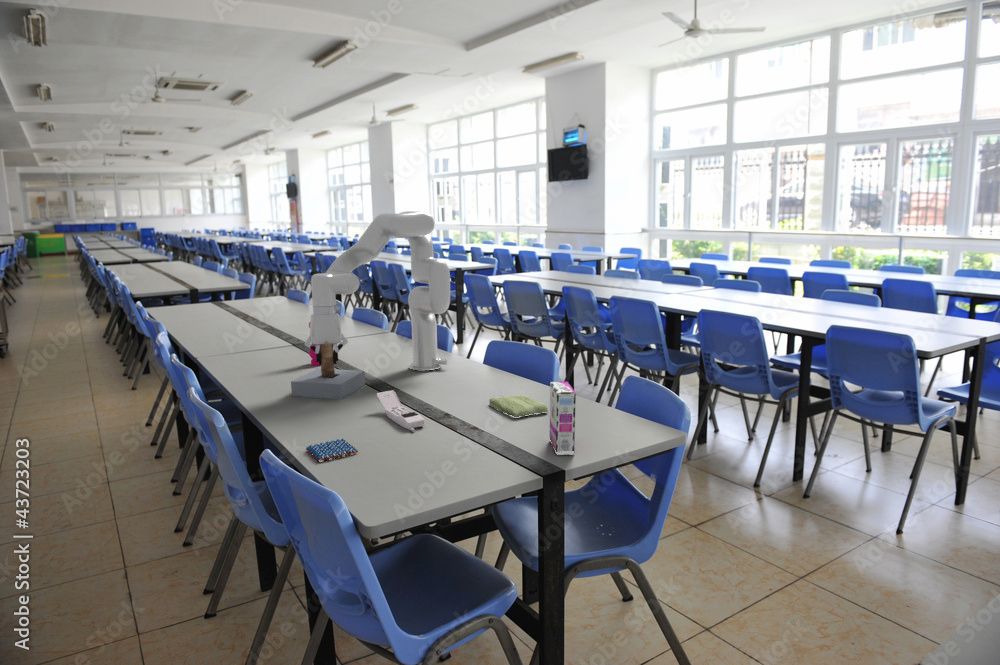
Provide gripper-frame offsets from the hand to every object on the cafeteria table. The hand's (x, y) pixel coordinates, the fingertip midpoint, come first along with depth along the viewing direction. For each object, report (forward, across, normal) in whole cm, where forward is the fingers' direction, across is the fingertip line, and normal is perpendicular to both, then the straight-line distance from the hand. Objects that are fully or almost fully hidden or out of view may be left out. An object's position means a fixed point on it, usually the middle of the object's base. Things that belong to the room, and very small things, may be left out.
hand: (327, 363), depth 223 cm
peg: (+4, 0, 0) cm, 4 cm away
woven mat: (+10, +2, +60) cm, 61 cm away
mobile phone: (+10, -19, +39) cm, 44 cm away
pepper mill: (+10, +2, -40) cm, 42 cm away
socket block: (+9, 0, 0) cm, 9 cm away
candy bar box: (+10, -55, +75) cm, 94 cm away
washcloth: (+10, -54, +40) cm, 69 cm away
